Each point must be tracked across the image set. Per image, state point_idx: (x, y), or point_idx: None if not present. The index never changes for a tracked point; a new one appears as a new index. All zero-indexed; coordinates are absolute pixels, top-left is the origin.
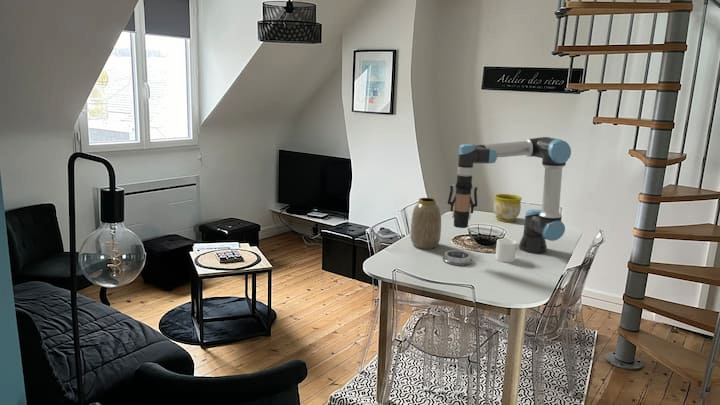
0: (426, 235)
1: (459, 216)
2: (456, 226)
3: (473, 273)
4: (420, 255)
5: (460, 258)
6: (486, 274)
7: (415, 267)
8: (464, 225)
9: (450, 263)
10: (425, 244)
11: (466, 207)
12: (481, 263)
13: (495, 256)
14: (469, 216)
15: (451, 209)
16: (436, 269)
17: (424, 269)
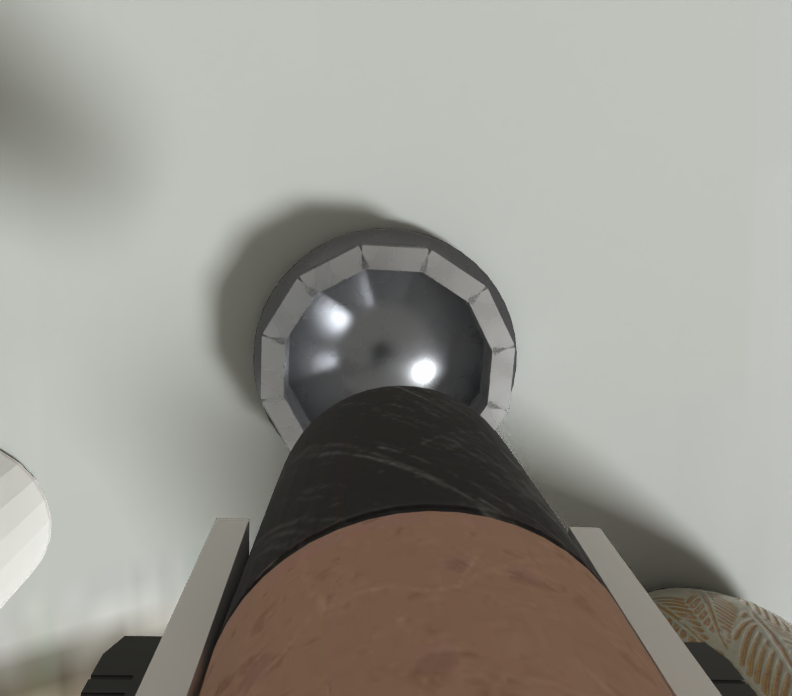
0: (733, 647)
1: (465, 461)
2: (473, 410)
3: (229, 52)
4: (707, 409)
5: (359, 262)
6: (107, 58)
7: (759, 70)
8: (332, 413)
9: (446, 243)
10: (687, 595)
11: (281, 640)
12: (168, 353)
13: (43, 525)
14: (220, 558)
15: (722, 682)
16: (570, 69)
17: (679, 37)
